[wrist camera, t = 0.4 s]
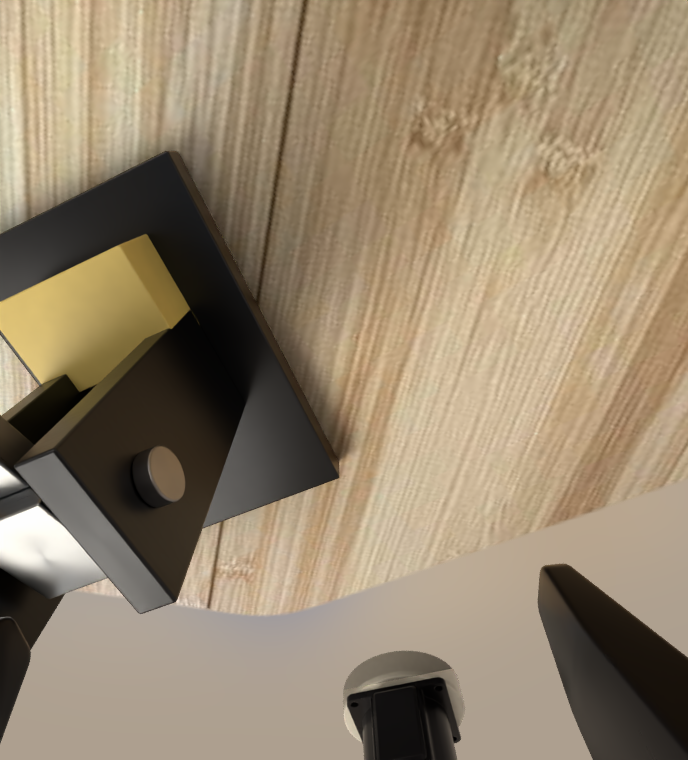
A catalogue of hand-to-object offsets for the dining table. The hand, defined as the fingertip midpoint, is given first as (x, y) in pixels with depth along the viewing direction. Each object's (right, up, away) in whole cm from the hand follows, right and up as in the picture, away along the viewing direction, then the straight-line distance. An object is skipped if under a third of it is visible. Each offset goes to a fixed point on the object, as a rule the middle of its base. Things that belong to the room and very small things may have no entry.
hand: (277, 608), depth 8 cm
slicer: (-6, +4, +12) cm, 14 cm away
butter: (-7, +6, +10) cm, 14 cm away
